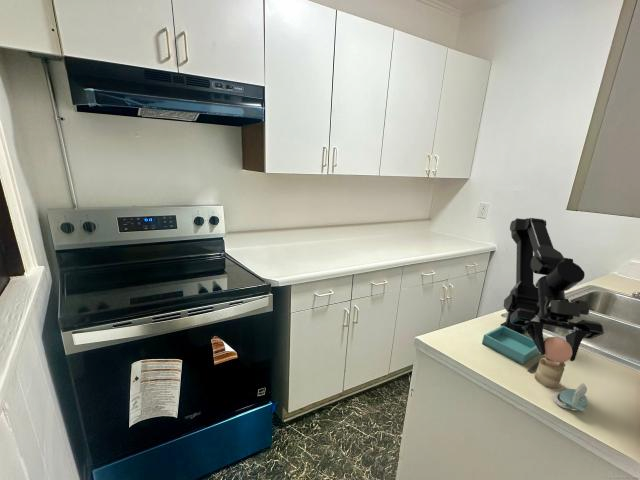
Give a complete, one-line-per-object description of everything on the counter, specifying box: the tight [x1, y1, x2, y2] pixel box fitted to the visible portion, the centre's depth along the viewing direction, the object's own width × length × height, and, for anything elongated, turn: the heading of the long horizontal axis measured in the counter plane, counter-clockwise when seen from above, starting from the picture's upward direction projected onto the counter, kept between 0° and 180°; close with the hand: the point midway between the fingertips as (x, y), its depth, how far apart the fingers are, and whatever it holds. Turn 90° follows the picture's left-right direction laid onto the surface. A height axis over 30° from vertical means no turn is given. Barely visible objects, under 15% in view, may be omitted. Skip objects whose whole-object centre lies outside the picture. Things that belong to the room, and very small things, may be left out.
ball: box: [543, 336, 572, 363], centre depth 77 cm, size 6×6×6 cm
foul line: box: [527, 361, 539, 374], centre depth 87 cm, size 14×1×1 cm, turn 125°
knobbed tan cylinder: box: [534, 355, 566, 389], centre depth 79 cm, size 5×5×6 cm
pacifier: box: [552, 383, 589, 413], centre depth 72 cm, size 7×6×6 cm
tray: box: [481, 325, 540, 366], centre depth 93 cm, size 11×11×3 cm
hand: (557, 357), depth 77 cm, fingers closed on ball, 6 cm apart
